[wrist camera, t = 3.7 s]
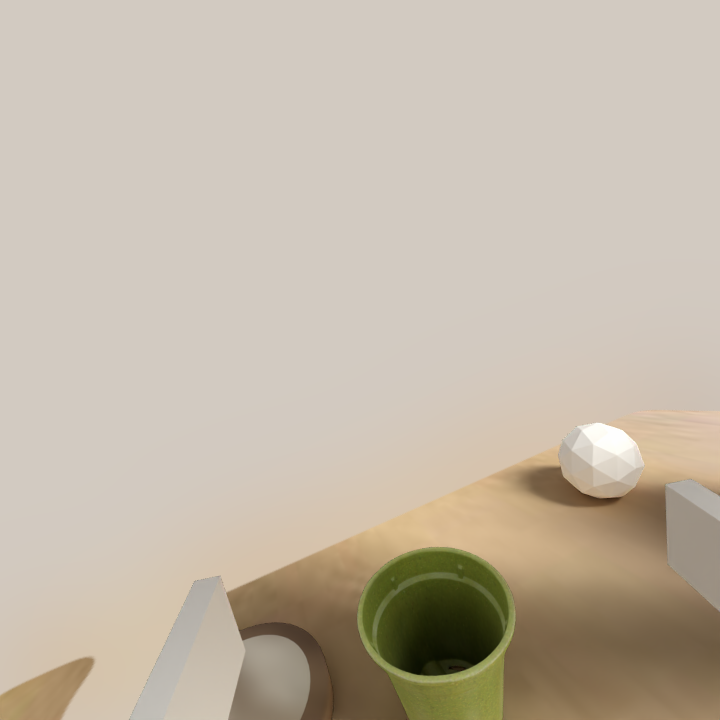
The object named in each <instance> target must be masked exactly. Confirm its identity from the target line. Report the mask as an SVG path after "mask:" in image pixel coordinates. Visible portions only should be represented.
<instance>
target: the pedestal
mask: <svg viewBox="0 0 720 720" xmlns="http://www.w3.org/2000/svg"><path fill="white" fill-rule="evenodd" d="M239 633H240V636H241V639H242V642H243V645H244V648H245V655H244V658H243V662H242V666H241V670H240V674H239V678H238V682H237V686H236V690H235V694H234V698H233V702H232V706H231V710H230V714H229V717H228V720H332V715H333V702H334V697H333V687H332V683H331V678H330V675H329V672H328V668H327V665H326V661H325V658H324V655H323V653H322V650H321V648H320V646H319V645H318V643H317V642H316V640H315V639H314V638H313V637H312V636H311V635H310V634H309V633H307V632H306V631H305V630H303V629H301V628H299V627H297V626H294V625H291V624H286V623H265V624H260V625H255V626H252V627H249V628H246V629H244V630H241V631H239Z"/></svg>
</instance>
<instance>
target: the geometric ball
mask: <svg viewBox="0 0 720 720" xmlns="http://www.w3.org/2000/svg"><path fill="white" fill-rule="evenodd" d="M558 457H559V462H560V466H561V470H562V474H563V477H564V478H565V479H566V480H568V481H569V482H570V483H571V484H572V485H573V486H574V487H575V488H577V489H578V490H579V491H581V492H582V493H584V494H587V495H590V496H593V497H597V498H611V497H623V496H624V495H626V494H627V493H628V492H629V491H631V490H632V489H633V488H634V487H635V486H636V484H637V482H638V479H639V477H640V475H641V473H642V471H643V469H644V467H645V465H644V462H643V460H642V457H641V454H640V452H639V449H638V446H637V444H636V443H635V442H634V441H633V440H632V439H631V438H630V437H629V436H628V435H627V434H626V433H625V432H624V431H622V430H620V429H617V428H614V427H611V426H608V425H605V424H601V423H593V424H587V425H582V426H576V428H574V429H573V430H572V431H571V432H570V433H569V434H568V435H567V436H566V437H565V438H564V439H563V440H562V444H561V447H560V450H559V454H558Z"/></svg>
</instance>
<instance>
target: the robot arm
mask: <svg viewBox="0 0 720 720" xmlns="http://www.w3.org/2000/svg"><path fill="white" fill-rule="evenodd" d="M665 494H666V528H667V561H668V565H669V566H670V567H671V568H672V569H673V570H674V571H675V572H677V573H678V574H679V575H680V576H681V577H682V578H683V579H684V580H685V581H686V582H687V583H689V584H690V585H691V586H692V587H693V588H694V589H695V590H696V591H697V592H698V593H699V594H701V595H702V596H703V597H704V598H705V599H706V600H707V601H708V602H709V603H710V604H711V605H713V606H714V607H715V608H716V609H717V610H718V611H719V612H720V496H719V495H717V494H715V493H714V492H712V491H710V490H709V489H707V488H705V487H704V486H702V485H701V484H699V483H697V482H696V481H694V480H692V479H688V480H684V481H679V482H674V483H669V484H665ZM244 655H245V648H244V645H243V642H242V639H241V636H240V633H239V630H238V627H237V624H236V621H235V618H234V615H233V612H232V609H231V606H230V603H229V600H228V597H227V594H226V591H225V588H224V585H223V582H222V579H221V576H217V577H212V578H207V579H203V580H197V581H195V582H194V583H193V585H192V587H191V590H190V592H189V594H188V596H187V598H186V600H185V602H184V605H183V607H182V609H181V611H180V613H179V615H178V617H177V619H176V622H175V623H174V626H173V628H172V630H171V632H170V634H169V636H168V638H167V640H166V643H165V645H164V647H163V649H162V651H161V653H160V655H159V657H158V659H157V661H156V664H155V666H154V668H153V670H152V672H151V674H150V676H149V678H148V680H147V683H146V685H145V687H144V689H143V691H142V693H141V695H140V697H139V700H138V702H137V704H136V706H135V708H134V710H133V712H132V714H131V716H130V719H129V720H228V717H229V714H230V710H231V706H232V702H233V698H234V694H235V690H236V686H237V682H238V678H239V674H240V670H241V666H242V662H243V658H244Z"/></svg>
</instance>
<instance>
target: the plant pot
mask: <svg viewBox="0 0 720 720" xmlns="http://www.w3.org/2000/svg"><path fill="white" fill-rule="evenodd" d="M515 622H516V612H515V604H514V599H513V596H512V593H511V590H510V588H509V586H508V584H507V583H506V581H505V580H504V578H503V577H502V576H501V574H500V573H499V572H498V571H497V570H496V569H495V568H494V567H493V566H492V565H490V564H489V563H488V562H486V561H485V560H483V559H481V558H480V557H478V556H476V555H474V554H471V553H469V552H466V551H463V550H459V549H455V548H448V547H429V548H422V549H418V550H414V551H410V552H407V553H405V554H403V555H400V556H398V557H396V558H394V559H392V560H391V561H389V562H388V563H386V564H385V565H384V566H383V567H381V569H380V570H378V571H377V572H376V573H375V574H374V575H373V577H372V578H371V579H370V580H369V582H368V583H367V585H366V586H365V588H364V590H363V593H362V595H361V598H360V601H359V605H358V612H357V625H358V630H359V634H360V637H361V640H362V643H363V645H364V647H365V649H366V651H367V652H368V654H369V655H370V657H371V658H372V659H373V660H374V661H375V663H376V664H377V665H378V666H379V667H381V668H382V669H383V670H384V671H385V672H386V673H387V674H388V676H389V678H390V680H391V682H392V684H393V686H394V688H395V690H396V692H397V694H398V696H399V698H400V700H401V703H402V705H403V707H404V709H405V712H406V714H407V716H408V718H409V720H503V676H504V655H505V652H506V650H507V648H508V646H509V644H510V642H511V639H512V637H513V633H514V629H515ZM453 666H460V667H463V668H466V670H464V671H461V672H460V671H456V670H453V669H449V668H450V667H453Z"/></svg>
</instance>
